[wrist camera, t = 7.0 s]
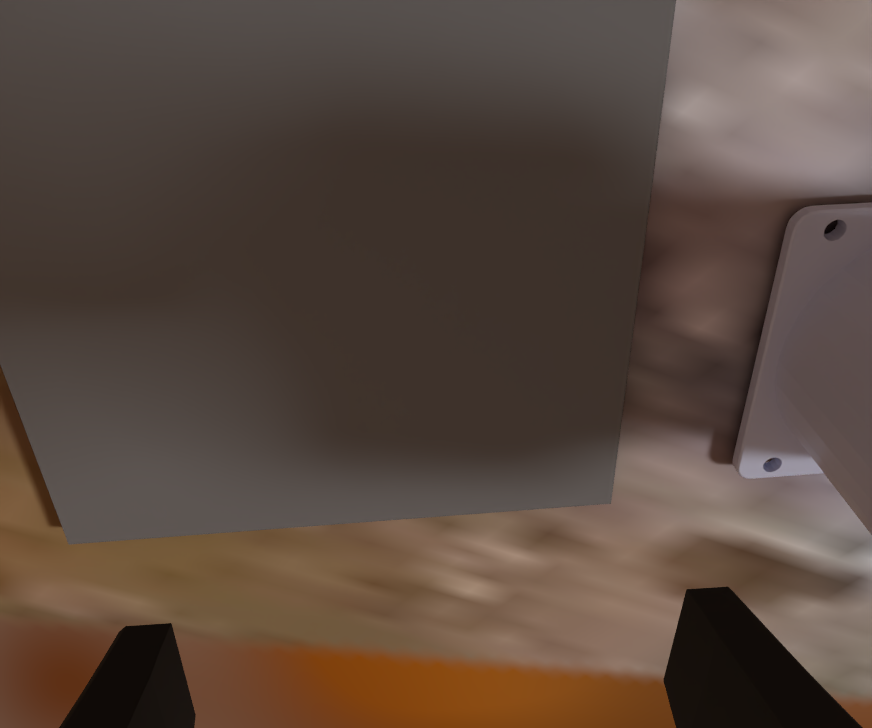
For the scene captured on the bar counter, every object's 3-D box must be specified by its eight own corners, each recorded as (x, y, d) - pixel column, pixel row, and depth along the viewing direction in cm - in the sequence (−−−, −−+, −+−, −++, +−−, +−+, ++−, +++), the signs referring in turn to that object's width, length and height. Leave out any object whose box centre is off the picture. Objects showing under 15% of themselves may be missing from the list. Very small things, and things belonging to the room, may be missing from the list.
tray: (680, -120, 15) (691, -120, 14) (605, 489, 23) (610, 503, 22) (-156, -96, 14) (-175, -95, 13) (75, 528, 22) (68, 544, 21)
